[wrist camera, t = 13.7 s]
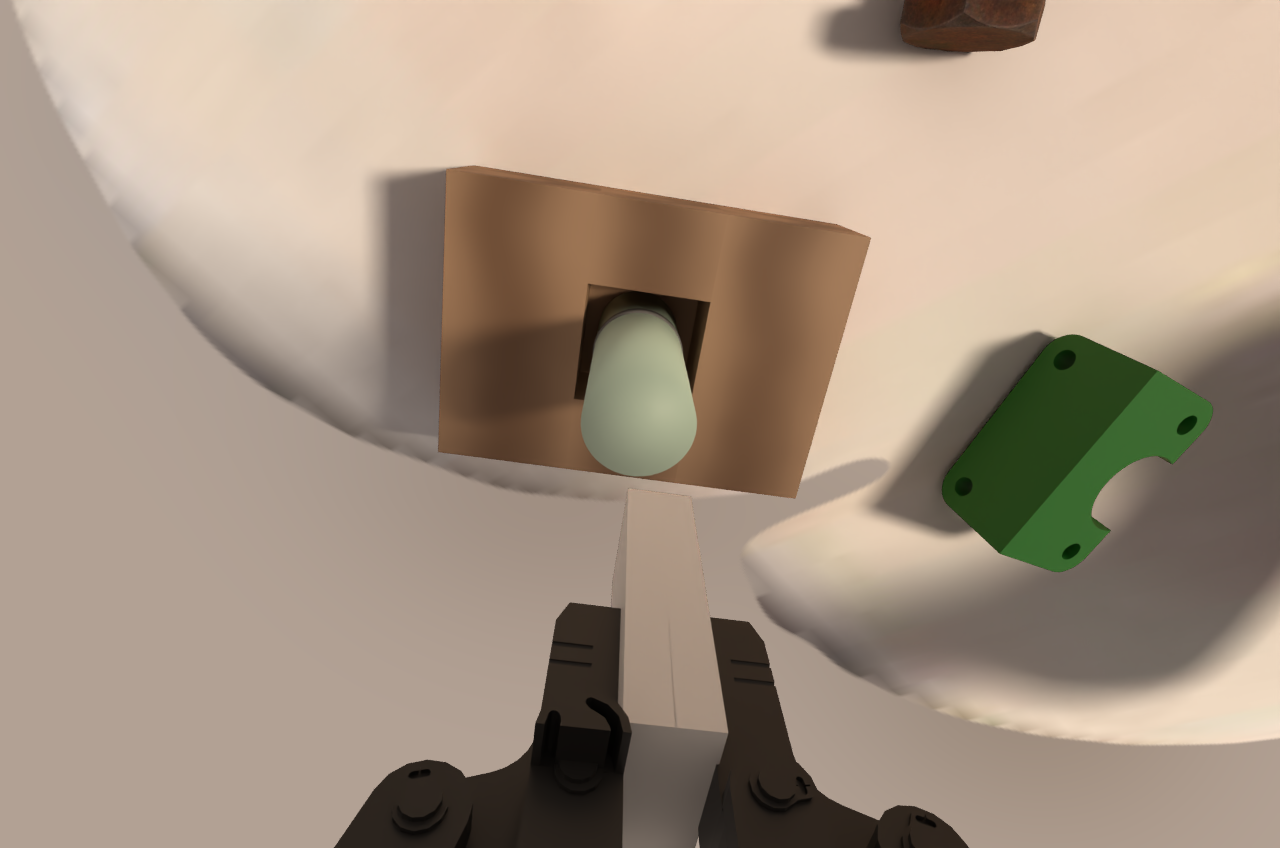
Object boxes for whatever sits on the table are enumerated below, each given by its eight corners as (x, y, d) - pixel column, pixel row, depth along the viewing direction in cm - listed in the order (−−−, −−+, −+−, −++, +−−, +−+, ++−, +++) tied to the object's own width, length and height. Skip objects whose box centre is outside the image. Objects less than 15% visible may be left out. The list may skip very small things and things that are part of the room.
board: (836, 224, 32) (871, 237, 27) (775, 454, 37) (795, 498, 32) (474, 165, 30) (446, 169, 26) (463, 412, 36) (438, 451, 31)
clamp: (980, 460, 42) (1039, 588, 36) (918, 434, 40) (971, 567, 34) (1169, 344, 34) (1282, 484, 29) (1106, 303, 32) (1216, 447, 26)
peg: (684, 297, 32) (710, 379, 21) (668, 373, 34) (684, 485, 23) (604, 283, 32) (588, 359, 21) (592, 360, 33) (571, 468, 22)
